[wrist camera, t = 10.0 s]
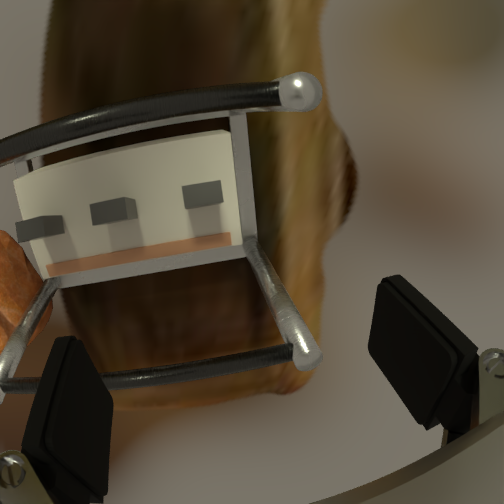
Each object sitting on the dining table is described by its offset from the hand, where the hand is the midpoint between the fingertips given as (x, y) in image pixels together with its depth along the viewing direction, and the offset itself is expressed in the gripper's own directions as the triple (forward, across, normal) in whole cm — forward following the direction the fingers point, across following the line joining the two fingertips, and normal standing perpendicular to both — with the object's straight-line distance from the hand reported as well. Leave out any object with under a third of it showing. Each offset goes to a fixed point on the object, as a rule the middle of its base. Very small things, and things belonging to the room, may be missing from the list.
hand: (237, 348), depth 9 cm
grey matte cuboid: (+19, 0, +1) cm, 19 cm away
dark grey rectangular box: (+19, +7, +1) cm, 20 cm away
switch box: (+25, +7, +1) cm, 26 cm away
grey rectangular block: (+19, +14, +1) cm, 23 cm away
